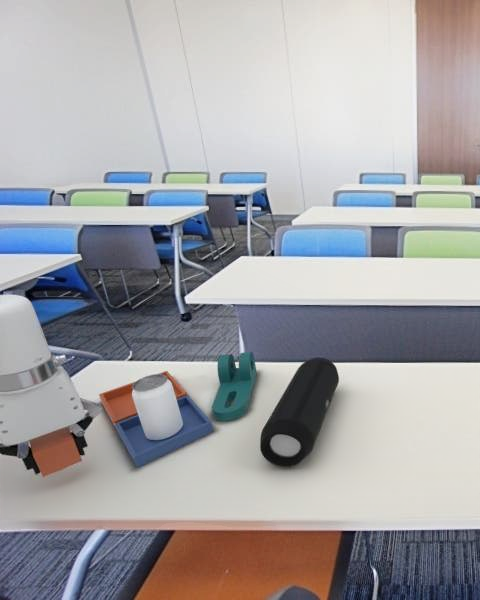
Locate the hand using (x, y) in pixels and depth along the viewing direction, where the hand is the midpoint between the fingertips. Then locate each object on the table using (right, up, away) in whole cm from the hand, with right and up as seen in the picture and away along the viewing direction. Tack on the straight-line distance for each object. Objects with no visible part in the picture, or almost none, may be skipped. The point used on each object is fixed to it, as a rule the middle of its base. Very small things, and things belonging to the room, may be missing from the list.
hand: (59, 459), depth 69 cm
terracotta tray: (-1, +4, +21) cm, 22 cm away
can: (+9, +1, +13) cm, 16 cm away
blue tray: (+9, 0, +13) cm, 16 cm away
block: (0, 0, 0) cm, 0 cm away
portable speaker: (+37, +1, +17) cm, 41 cm away
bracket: (+18, +5, +25) cm, 31 cm away
